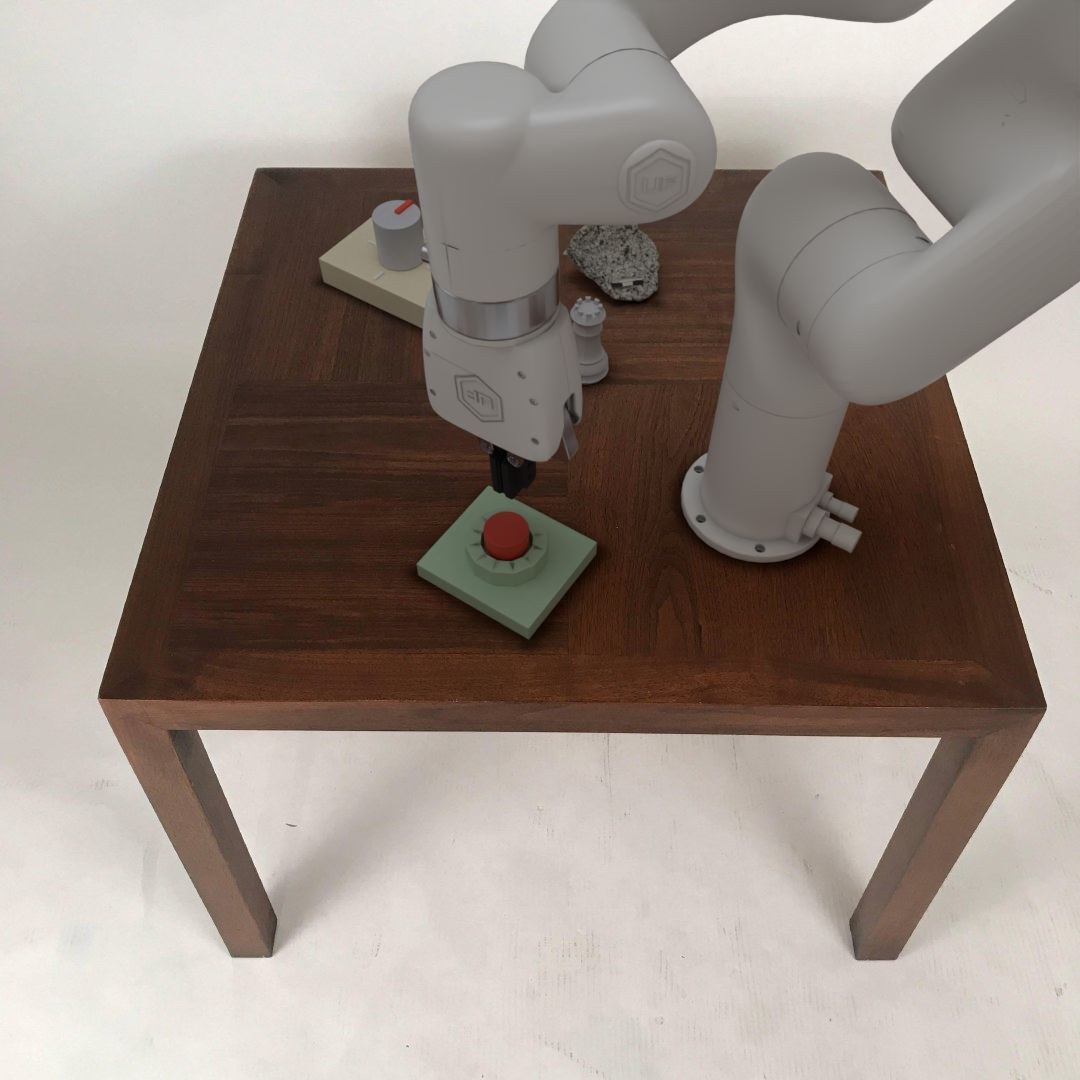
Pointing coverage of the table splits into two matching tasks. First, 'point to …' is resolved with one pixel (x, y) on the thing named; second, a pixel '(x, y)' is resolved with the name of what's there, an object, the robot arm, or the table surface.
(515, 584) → the button block
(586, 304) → the rook chess piece
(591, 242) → the rock sample
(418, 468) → the table surface
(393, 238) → the knob
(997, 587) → the table surface
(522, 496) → the table surface
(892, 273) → the robot arm
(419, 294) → the panel
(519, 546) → the button
